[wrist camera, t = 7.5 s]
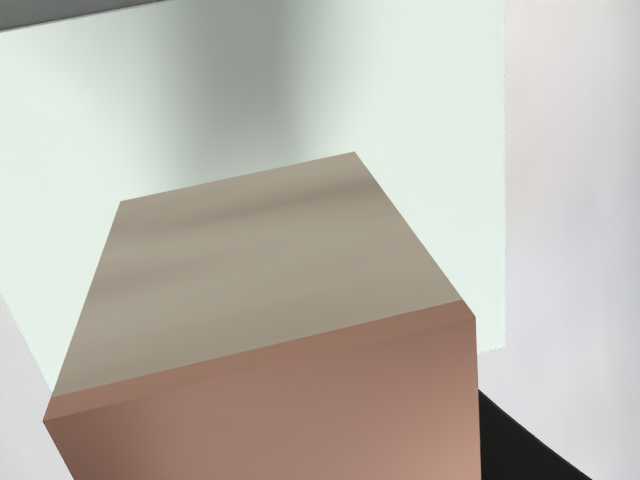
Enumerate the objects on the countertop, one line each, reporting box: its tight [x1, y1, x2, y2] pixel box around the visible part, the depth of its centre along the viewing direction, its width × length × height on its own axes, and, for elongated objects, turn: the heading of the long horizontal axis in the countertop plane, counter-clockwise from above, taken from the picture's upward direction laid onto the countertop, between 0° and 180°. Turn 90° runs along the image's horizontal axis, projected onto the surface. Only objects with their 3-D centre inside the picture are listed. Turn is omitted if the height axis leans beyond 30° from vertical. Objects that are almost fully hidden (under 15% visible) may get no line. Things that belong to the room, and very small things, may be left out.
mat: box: [0, 0, 505, 393], centre depth 17 cm, size 15×13×1 cm
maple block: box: [43, 151, 481, 480], centre depth 9 cm, size 8×4×5 cm, turn 9°
